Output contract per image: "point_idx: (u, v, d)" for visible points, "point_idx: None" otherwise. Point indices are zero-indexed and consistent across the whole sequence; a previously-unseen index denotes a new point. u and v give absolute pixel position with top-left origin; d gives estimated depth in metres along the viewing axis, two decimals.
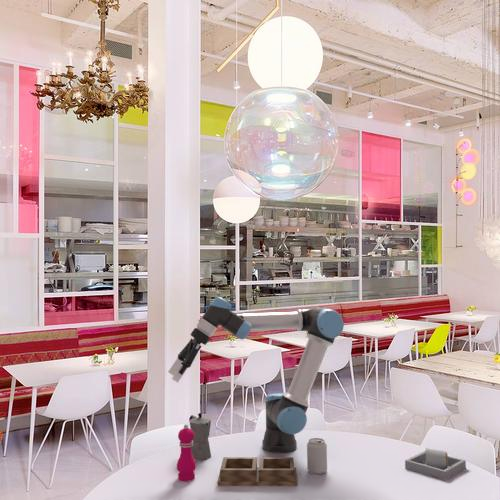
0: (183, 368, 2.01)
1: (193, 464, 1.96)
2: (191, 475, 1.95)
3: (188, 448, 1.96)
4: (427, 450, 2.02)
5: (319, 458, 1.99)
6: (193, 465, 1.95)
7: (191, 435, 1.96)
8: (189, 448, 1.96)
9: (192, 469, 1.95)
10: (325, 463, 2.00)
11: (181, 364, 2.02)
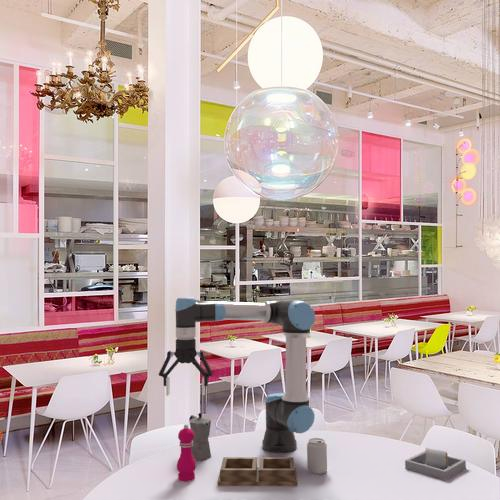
0: (207, 379, 1.98)
1: (193, 464, 1.96)
2: (191, 475, 1.95)
3: (188, 448, 1.96)
4: (427, 450, 2.03)
5: (319, 458, 1.99)
6: (193, 465, 1.95)
7: (191, 435, 1.96)
8: (189, 448, 1.96)
9: (192, 469, 1.95)
10: (325, 463, 2.00)
11: (203, 378, 1.97)
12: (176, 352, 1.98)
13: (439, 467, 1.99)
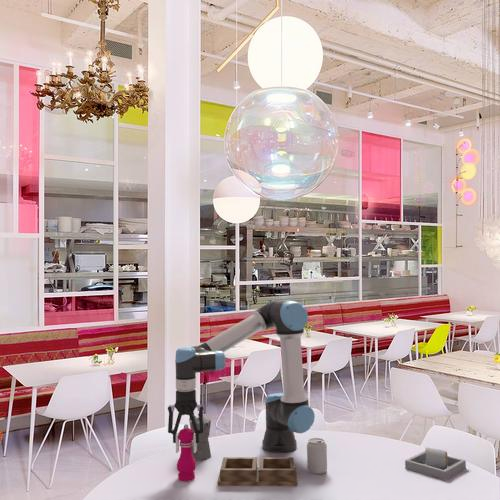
0: (198, 436, 1.97)
1: (193, 464, 1.96)
2: (191, 475, 1.95)
3: (188, 448, 1.96)
4: (427, 449, 2.03)
5: (319, 458, 1.99)
6: (193, 465, 1.95)
7: (191, 435, 1.96)
8: (189, 448, 1.96)
9: (192, 469, 1.95)
10: (325, 463, 2.00)
11: (194, 435, 1.96)
12: (176, 404, 1.97)
13: (439, 466, 2.00)
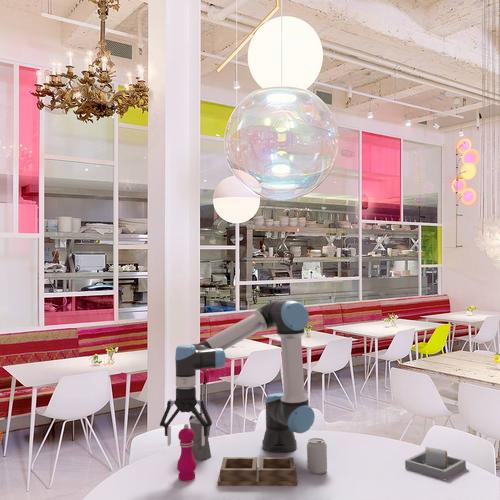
0: None
1: (193, 464, 1.96)
2: (191, 475, 1.95)
3: (188, 448, 1.96)
4: (427, 449, 2.04)
5: (319, 458, 1.99)
6: (193, 465, 1.95)
7: (191, 435, 1.96)
8: (189, 448, 1.96)
9: (192, 469, 1.95)
10: (325, 463, 2.00)
11: (202, 428, 1.96)
12: (176, 401, 1.97)
13: (439, 466, 2.01)
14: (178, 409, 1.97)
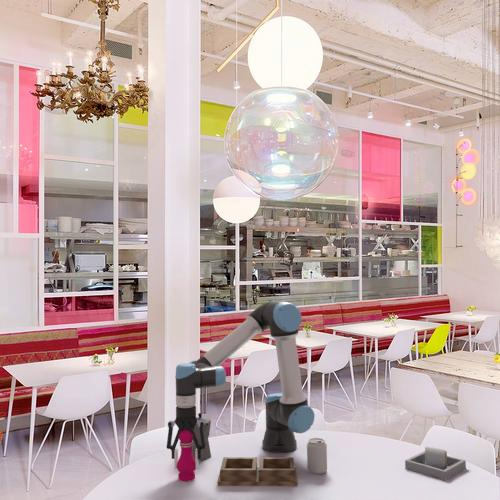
0: (200, 452, 1.97)
1: (193, 464, 1.96)
2: (191, 475, 1.95)
3: (188, 448, 1.96)
4: (426, 448, 2.04)
5: (319, 458, 1.99)
6: (193, 465, 1.95)
7: (191, 435, 1.96)
8: (189, 448, 1.96)
9: (192, 469, 1.95)
10: (325, 463, 2.00)
11: (196, 451, 1.96)
12: (176, 420, 1.97)
13: (438, 465, 2.01)
14: (180, 429, 1.96)
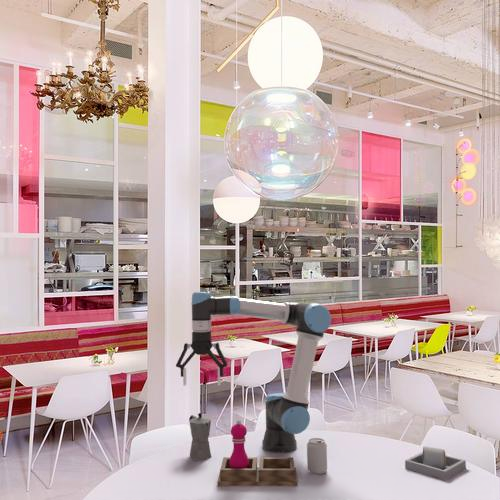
0: (222, 370, 2.07)
1: (246, 460, 1.95)
2: None
3: (241, 444, 1.95)
4: (425, 448, 2.05)
5: (319, 458, 1.99)
6: (246, 461, 1.95)
7: (244, 431, 1.95)
8: (242, 444, 1.95)
9: (245, 465, 1.94)
10: (325, 463, 2.00)
11: (218, 369, 2.06)
12: (192, 344, 2.07)
13: (437, 465, 2.02)
14: (194, 351, 2.06)
